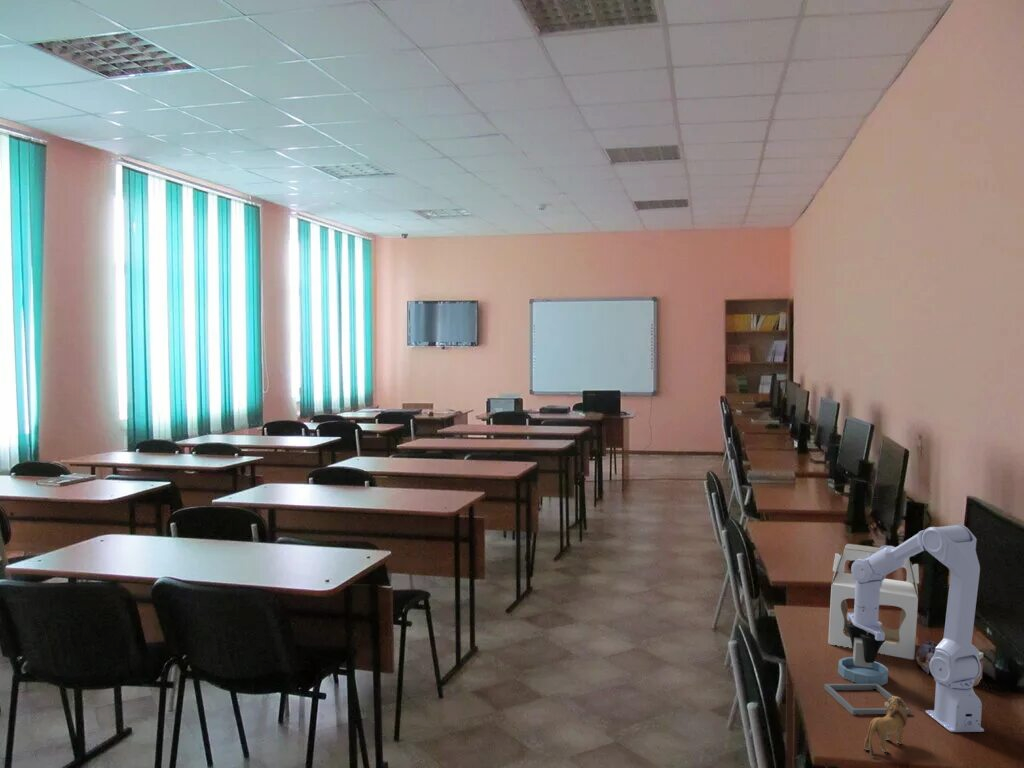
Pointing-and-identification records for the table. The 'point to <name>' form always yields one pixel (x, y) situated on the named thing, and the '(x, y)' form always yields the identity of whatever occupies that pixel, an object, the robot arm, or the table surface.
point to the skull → (925, 655)
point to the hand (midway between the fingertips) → (863, 657)
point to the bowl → (863, 672)
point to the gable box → (890, 594)
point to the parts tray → (832, 687)
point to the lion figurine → (888, 724)
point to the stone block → (859, 654)
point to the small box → (981, 670)
